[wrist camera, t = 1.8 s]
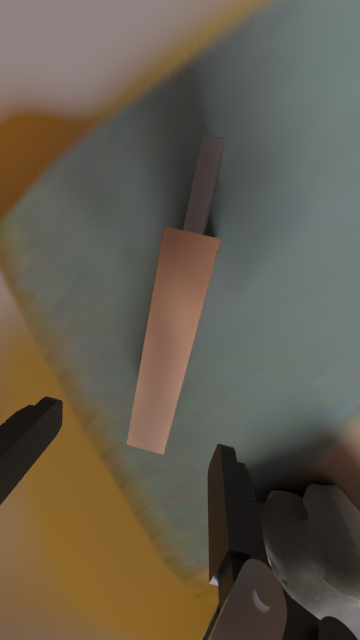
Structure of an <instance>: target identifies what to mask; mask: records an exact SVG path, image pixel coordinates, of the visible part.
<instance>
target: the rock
mask: <svg viewBox="0 0 360 640" xmlns="http://www.w3.org/2000/svg"><path fill="white" fill-rule="evenodd" d="M256 506H257V509H258V514H259V519H260V524H261V529H262V533H263V538H264V543H265V548H266V553H267V557H268V561H269V564H270V567H271V569H272V571H273V573H274V575H275V576H276V578H277V579H278V581H279V583H280V585H281V586H282V588H283V589H284V590H285V591H286V593H287V594H288V595H289V596H291V597H292V598H293V599H294V600H295V601H296V602H298V603H299V604H300V605H302V606H303V607H304V608H305V609H307V610H308V611H309V612H311V613H312V614H313V615H314V616H316V617H317V618H318V619H320V620H321V619H322V618H324V617H326V616H332V617H335V618H337V619H338V620H340V621H341V622H343V623H344V624H345V625H346V626H347V627H348V628H349V629H350V630H351V631H352V632H353V634H354V635H355V636H356V638H357V639H358V640H360V512H359V510H358V509H357V508H356V507H355V506H354V505H353V503H352V502H351V501H350V500H349V499H348V498H347V496H346V495H345V494H344V493H343V492H342V491H341V489H340V488H339V487H338V486H337V485H324V486H322V485H315V484H311V485H309V486H307V488H306V491H305V494H304V496H303V498H301V497H300V496H298V495H296V494H293V493H290V492H285V491H272V492H270V493H269V495H268V497H267V501H266V502H264V503H260V504H256Z"/></svg>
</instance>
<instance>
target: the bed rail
mask: <svg viewBox="0 0 360 640" xmlns="http://www.w3.org/2000/svg"><path fill="white" fill-rule="evenodd" d="M223 144H224V139H223V138H218V137H213V136H208V135H203V134H202V138H201V143H200V148H199V153H198V158H197V163H196V168H195V173H194V178H193V183H192V188H191V193H190V198H189V203H188V208H187V213H186V217H185V222H184V227H183V230H179V229H175V228H170V227H166V226H164V230H163V236H162V241H161V247H160V253H159V259H158V265H157V271H156V276H155V282H154V288H153V294H152V300H151V306H150V311H149V317H148V323H147V329H146V335H145V341H144V346H143V352H142V358H141V364H140V370H139V376H138V381H137V387H136V393H135V399H134V405H133V411H132V416H131V422H130V428H129V434H128V440H127V445H131V446H134V447H138V448H141V449H145V450H148V451H152V452H155V453H159V454H164V451H165V447H166V443H167V439H168V436H169V432H170V428H171V424H172V421H173V417H174V413H175V409H176V406H177V402H178V398H179V394H180V391H181V387H182V383H183V379H184V376H185V372H186V368H187V364H188V361H189V357H190V353H191V349H192V346H193V342H194V338H195V334H196V331H197V327H198V323H199V319H200V316H201V312H202V308H203V304H204V301H205V297H206V293H207V289H208V286H209V282H210V278H211V274H212V271H213V267H214V263H215V259H216V256H217V252H218V248H219V245H220V241H221V239H219V238H214V237H210V236H206V235H205V231H206V227H207V223H208V219H209V215H210V210H211V206H212V202H213V198H214V194H215V189H216V185H217V181H218V176H219V170H220V163H221V157H222V150H223Z"/></svg>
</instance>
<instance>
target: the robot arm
mask: <svg viewBox="0 0 360 640" xmlns="http://www.w3.org/2000/svg"><path fill="white" fill-rule="evenodd" d="M62 404H63V403H62V401H61V400H58V399H54V398H51V397H44V398H43V399H41V400H40V401H39V402H38V403H37V404H36V405H35V406H33V405H29V406H27V407H25V408H23V409H21V410H19V411H17V412H16V413H14V414H13V415H12V416H11V417H10V418H9V419H7V420H6V421H5V423H3V424H2V425H0V505H1V504H2V502H3V501H4V500H5V499H6V497H7V496H8V495H9V494H10V493H11V491H12V490H13V489H14V487H15V486H16V485H17V484H18V483H19V481H20V480H21V479H22V478H23V476H24V475H25V474H26V473H27V471H28V470H29V469H30V468H31V466H32V465H33V464H34V463H35V461H36V460H37V459H38V458H39V457H40V455H41V454H42V453H43V451H44V450H45V449H46V448H47V447H48V445H49V444H50V443H51V441H52V440H53V439H54V438H55V437H56V435H57V434H58V432H59V430H60V428H61V425H62ZM253 492H254V490H253V485H252V480H251V476H250V474H249V473H248V471H247V469H246V467H245V465H244V464H243V463H239V462H237V459H236V453H235V449H234V448H233V447H230V446H226V445H222V444H218V445H217V447H216V449H215V452H214V454H213V457H212V459H211V462H210V465H209V469H208V532H209V583H210V584H213V585H217V586H218V593H219V603H218V605H217V607H216V609H215V611H214V613H213V616H212V618H211V620H210V622H209V624H208V626H207V629H206V631H205V633H204V635H203V637H202V639H201V640H358V639H357V638H356V636H355V635H354V634H353V632H352V631H351V630H350V629H349V628H348V627H347V626H346V625H345V624H344V623H343V622H341V621H340V620H338V619H337V618H335V617H332V616H326V617H324V618H322V619H321V620H320V619H318V618H317V617H316V616H314V615H313V614H312V613H311V612H309V611H308V610H307V609H305V608H304V607H303V606H302V605H300V604H299V603H298V602H296V601H295V600H294V599H293V598H292V597H290V596H289V595H288V594H287V593H286V591H285V590H284V589H283V588H282V586H281V585H280V583H279V581H278V579H277V578H276V576H275V575H274V573H273V571H272V569H271V567H270V564H269V561H268V557H267V553H266V548H265V543H264V538H263V533H262V529H261V524H260V519H259V514H258V509H257V506H256V500H255V495H254V493H253Z"/></svg>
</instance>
